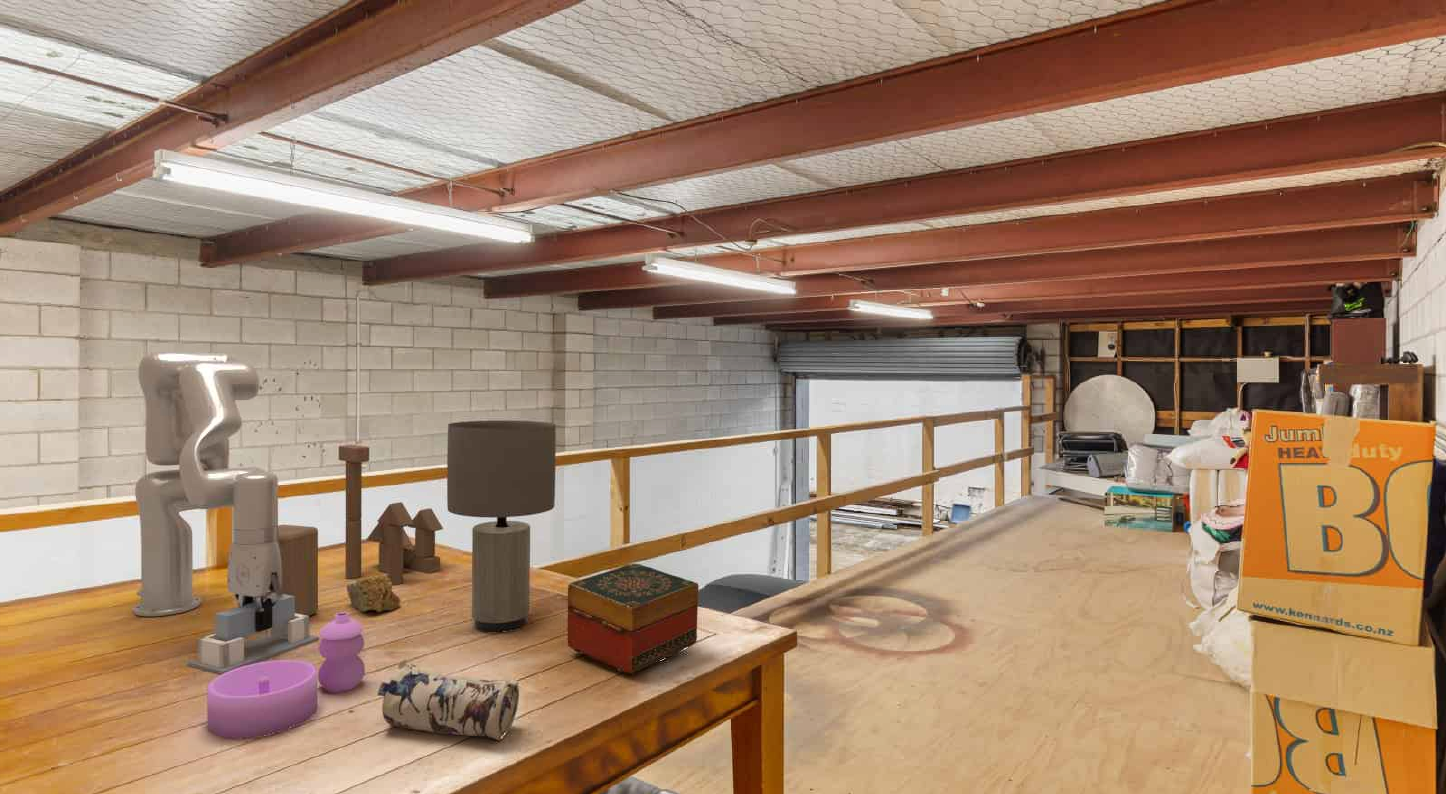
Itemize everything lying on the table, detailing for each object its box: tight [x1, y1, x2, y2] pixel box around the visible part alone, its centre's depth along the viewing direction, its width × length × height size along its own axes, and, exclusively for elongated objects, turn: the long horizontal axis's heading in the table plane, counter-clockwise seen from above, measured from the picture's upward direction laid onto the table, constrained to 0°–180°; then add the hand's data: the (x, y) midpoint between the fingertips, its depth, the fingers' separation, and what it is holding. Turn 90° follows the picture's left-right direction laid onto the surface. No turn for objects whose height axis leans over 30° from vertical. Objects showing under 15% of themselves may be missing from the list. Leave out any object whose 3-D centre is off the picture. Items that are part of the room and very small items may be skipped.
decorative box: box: [566, 563, 700, 675], centre depth 154 cm, size 20×22×16 cm
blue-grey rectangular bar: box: [214, 594, 295, 642], centre depth 151 cm, size 14×4×5 cm, turn 157°
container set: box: [206, 611, 366, 740], centre depth 129 cm, size 25×15×13 cm, turn 150°
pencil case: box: [377, 658, 520, 741], centre depth 122 cm, size 22×8×10 cm, turn 77°
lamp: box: [446, 420, 557, 633], centre depth 170 cm, size 23×23×44 cm
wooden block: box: [255, 524, 319, 617], centre depth 171 cm, size 10×10×20 cm
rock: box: [346, 576, 402, 613], centre depth 180 cm, size 12×9×10 cm
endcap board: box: [187, 613, 320, 675], centre depth 151 cm, size 10×20×5 cm, turn 157°
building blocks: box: [338, 444, 444, 586], centre depth 207 cm, size 19×25×35 cm
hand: (256, 627), depth 151 cm, fingers closed on blue-grey rectangular bar, 3 cm apart
